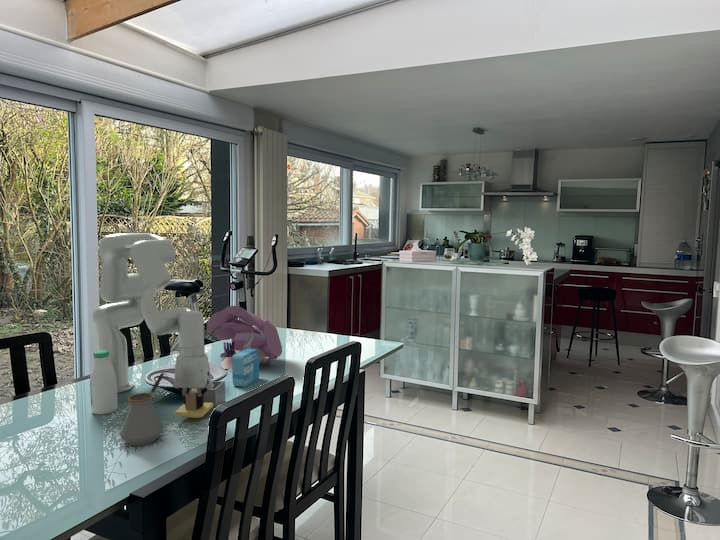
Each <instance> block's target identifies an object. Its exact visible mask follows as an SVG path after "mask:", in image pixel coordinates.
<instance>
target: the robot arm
mask: <svg viewBox="0 0 720 540" xmlns="http://www.w3.org/2000/svg"><path fill="white" fill-rule="evenodd" d="M98 247H99V248H98V249H99V250H98V251H99V256H100V261H101V270H100V284H99V294H100V298H101V299H102V300H103V301H104V302H107V303H106V304H102V305H100V306H98V307H97V308H95V310H94V311H93V313H92V319H93V324H94V327H95V334H96V339H97V340H96V341H97V351H99V350H108V351H109V356H110V357H109V361H110V364H111V365H112V367H113V369H114V371H115V374H116V384H117V394H119V393H122V392H126V391H128V390H131V389H133V387H134V382H133V381H132V380H130V377H129V361H128V360H129V359H128V345H127V344H128V343H127V339H126V336H125V335H124V334H123V333H122V332H121V329H124V328H128V327H134V326H137V325H140V324H142V322H143V321H145V323H146V326H147V328H148V329H149V330H150V332H151V333H153V334H154V335H155V336H164V335H168V334H173V333H177V332H178V333H177V334H178V345H177V346H175V348H174V350H175V351H176V352H178V354H177V355H176V359H175V363H174V364H175V365H174V382H173V384H172V387H173V388H175V389H177V390H178V391H179V392H180V394H181V395H182V397H183V401H184V402H183V405H184V404H185V408H186V394H187V393H188V392H190V391H191V388H197V393H198V396H197V397H196V402H197V409H200V408H201V407H202V406H203V404H204V396H203V394H204V393H205V392H206V391H208V390H210V389H212V388H213V387H214V385H213V383H212V381H213V380H212V379H211V370H210V369H211V368H210V362H209V358H208V354H207V353H206V352H205V327H204V323H205V322H204V315H203V312H202V311H199V310H192V309H191V308H189V307H186V306H179V307H174V308H168V309H162V310H159V309H158V307H157V305H156V302H155V298H154V297H155V294H156V293H158V292H160V291H161V290H163V289H164V288H166V287H167V286H168V285H169V284H170V283H171V280H172V277H171V274H170V272H169V270H168V268H167V266H166V265H167V264H171V263H172V262H174V260H175V259H176V253H177V252H176V249H175V246H174V245H173V244H172V242H171V241H170V240H169V239H167V238H164V237H161V236H159V235H156V234H154V233H150V232H149V233H148V232H135V233H134V232H133V233H127V232H126V233H113V234H108V235H104V236H103V237H102V238H101V240H100V241H99V246H98ZM127 259H131V260H132V262H133V264H134V266H135V268H136V270H137V273H129V272H128V271H129V263H128V261H127ZM206 385H207V386H206ZM205 386H206V387H205ZM204 387H205V388H204Z"/></svg>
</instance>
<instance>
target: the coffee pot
mask: <svg viewBox="0 0 720 540" xmlns="http://www.w3.org/2000/svg"><path fill="white" fill-rule="evenodd" d="M164 376H166V377H164ZM167 377H168V375H167V374H166V373H164V372H161V373H160V374H159V376H158V378H157V380H156V381H155V382H154V384H153V386H152V388H151V390H150V392H149V393H148V392H141V393H135V394H132V395H129V396H128V398H127V400H128V401H129V402H130V407H129V410H128V412H127V415H126V417H125V419H124V422H123V425H122V427H121V429H120V433H119V436H120V438H121V439H122V440H123V441H124V442H126V444H128V443H129V444H128V445H130V446H135V447H136V446H137V447H138V446H146V445H149V444H151V443H154V442H155V441H156V440H157V439H158V438H159V437H160V436H161V434H162V433H163V431H164V425H163V423H162V421H161V419H160V418H159V416H158V414H157V412H156V409H154V406H153V404H152V403H151V402H152V399H153V396H154V395H153V394H154V392H155V391H156V389H157V388H158V387H159V385H160V383H161V381H162V380H163V379H166V378H167Z"/></svg>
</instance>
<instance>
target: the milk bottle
mask: <svg viewBox="0 0 720 540" xmlns="http://www.w3.org/2000/svg"><path fill="white" fill-rule="evenodd" d="M109 357H110V356H109V351H108V350H99V351H98V350H96V351H94V352H93V360H94V364H93V368H92V369H91V372H90V374H89V375H90V376H89V387H90V403H91V406H90V407H91V412H92V414H94V415H106V414H111V413H114V412H116V411H117V410H118V407H119V404H118V393H117V384H116V374H115V371H114V369H113V367H112V365H111V364H110V361H109Z"/></svg>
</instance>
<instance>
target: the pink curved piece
mask: <svg viewBox="0 0 720 540" xmlns="http://www.w3.org/2000/svg"><path fill="white" fill-rule="evenodd" d="M238 318H239V319H238ZM240 319H241V320H240ZM211 332H213V333H212V337H214V338H215V337H216V339H217V340H218V341H219V340H220V341H227V342H223V350H224V351H223V353H221V354H220V355H219V356H220V359H221V360H222V362H221V363H220V366H221V365H223V366H224V367H226V368H227V369H228V370H227V371H230V372H232V357H233V355H235V354H237V353H239V352H241V351H243V350H245V349H247V348H248V349H257V350H258V351H259V364H260V363H261V362H263V361H264V360H265V359H266V358H267V361H266V362H265V363H266V364H267V365H268V366H269V367H273V366H274V363H275V359H277V358H279V357H280V356H282V353H283V347H282V343H281V339H280V335H279V332H278V330H277V327H275V325H274V324H273V323H272V322H271V321H270V320H269V319H268V318H266V319H262V318H261V317H260V316H258V315H257V314H254V313H253V312H251V311H249V310H246V308H243V307H241V306H237V305H228V306H226V307H225V308H224V309H222V310H220V311H218V312H217V311H216V312H214V313H213V314H212V315H211V316H210V317H209V318H208V320H207V323H206V333H207V334H209V333H211ZM228 340H231V342H229V341H228Z"/></svg>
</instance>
